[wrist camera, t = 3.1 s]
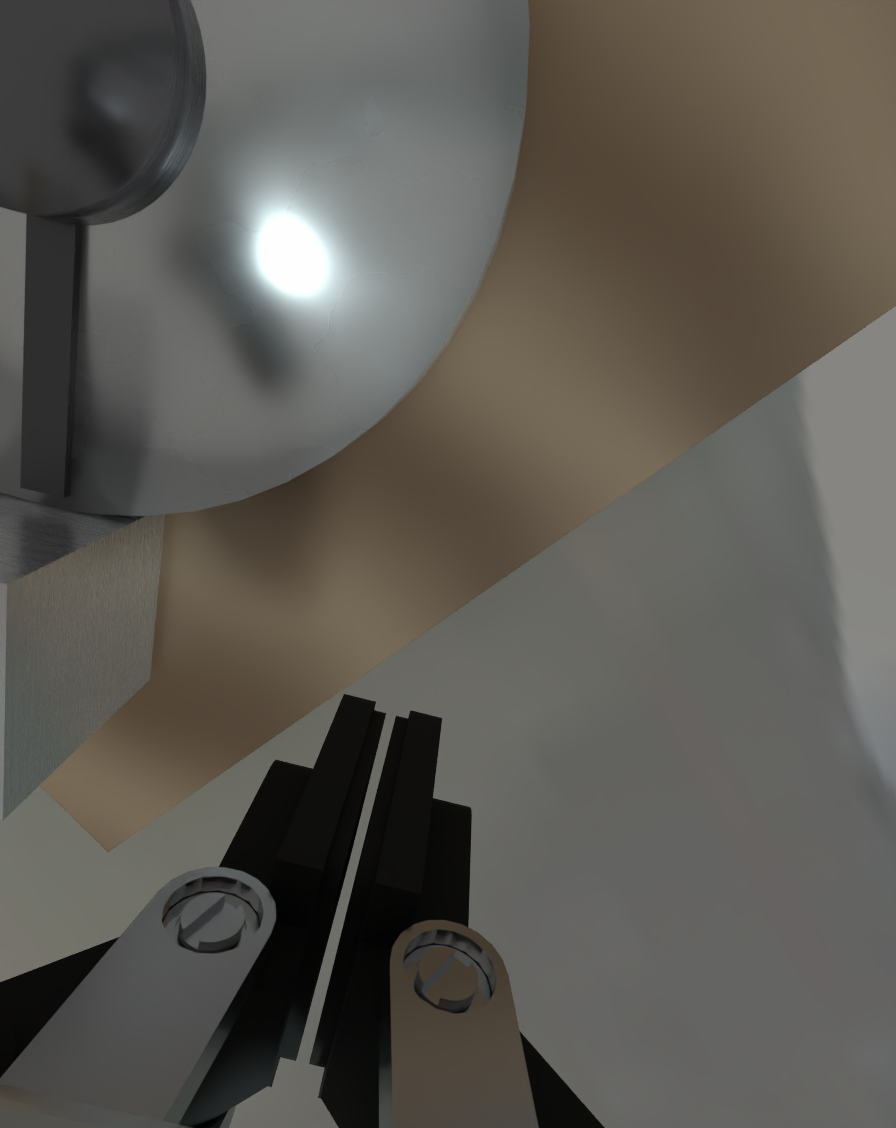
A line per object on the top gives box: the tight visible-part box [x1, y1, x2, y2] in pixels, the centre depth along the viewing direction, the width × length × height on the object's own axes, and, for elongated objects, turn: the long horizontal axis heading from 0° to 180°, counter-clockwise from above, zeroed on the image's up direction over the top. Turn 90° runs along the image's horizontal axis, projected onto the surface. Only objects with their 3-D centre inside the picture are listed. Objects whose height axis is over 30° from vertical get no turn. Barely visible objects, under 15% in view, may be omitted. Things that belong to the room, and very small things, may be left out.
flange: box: [0, 0, 530, 821], centre depth 10 cm, size 18×14×5 cm
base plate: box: [39, 0, 896, 852], centre depth 11 cm, size 24×20×6 cm
